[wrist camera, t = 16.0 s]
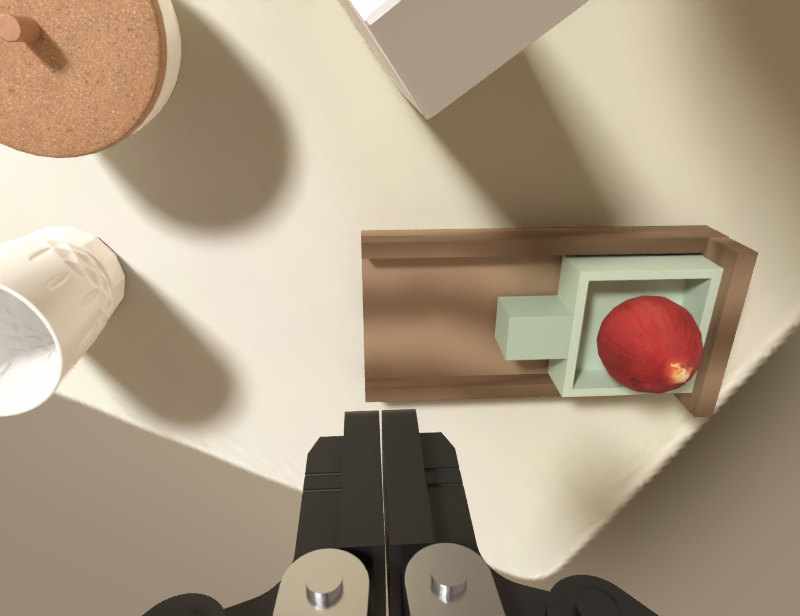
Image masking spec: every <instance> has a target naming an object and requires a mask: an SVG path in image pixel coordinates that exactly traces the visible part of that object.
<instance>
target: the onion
mask: <svg viewBox="0 0 800 616" xmlns="http://www.w3.org/2000/svg"><path fill="white" fill-rule="evenodd" d="M596 340H597V349H598V355H599V357H600V359H601V361H602V363H603V365H604V367H605V368H606V370H607V372H608V373H609V375H610V376H611V377H613V378H614V379H615V380H616V381H618V382H619V383H621V384H623V385H624V386H626V387H628V388H629V389H632V390H634V391H636V392H645V393H655V394H661V393H665V392H668V391H671V390H675V389H678V388H680V387H681V386H682V385H684V384H685V383H686V382H688V381H689V380H690V379H691V378H692V377H693V375H694V374H695V373H696V371H697V370H698V369H699V366H700V363H701V360H702V356H703V352H704V350H703V342H702V335H701V332H700V329H699V327H698V325H697V324H696V322H695V320H694V318H693V316H692V315H691V314H690V312H689V311H688V310H687V309H686V308H684V307H682V306H680V305H679V304H677V303H675V302H673V301H671V300H669V299H668V298H666V297H663V296H649V295H642V296H638V297H635V298H631V299H628V300H626V301H624V302H622V303H621V304H619V305H617V306H616V307H614V308H613V309H612V310H611V311H610V312H609V313H608V315H607V316H606V317H605V318H604V319H603V321H602V323H601V326H600V329H599V332H598V335H597V339H596Z"/></svg>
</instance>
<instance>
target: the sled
mask: <svg viewBox="0 0 800 616" xmlns="http://www.w3.org/2000/svg"><path fill="white" fill-rule="evenodd" d="M722 273H723V268H722V267H720V266H718V265H717V264H715V263H713V262H712V261H710V260H708V259H707V258H705V257H703V256H702V255H700V254H698V253H659V254H604V255H563V256H562V264H561V271H560V279H559V287H558V295H551V296H507V297H498V303H497V315H496V327H495V339H496V341H497V343H498V345H499V347H500V350H501V352H502V354H503V356H504V358H505V360H537V359H549V364H548V374H549V375H550V377H551V379H552V381H553V382H554V384H555V386H556V387H557V389H558V391H559V393H560V394H561V396H562V397H581V396H611V395H641V394H655V393H645V392H636V391H634V390H632V389H629V388H628V387H626V386H624V385H623V384H621V383H619V382H618V381H616V380H615V379H614V378H613V377H611V376H610V375H609V373H608V372H607V370H606V368H605V367H604V365H603V363H602V361H601V359H600V357H599V355H598V349H597V340H596V339H597V335H598V332H599V329H600V326H601V323H602V321H603V319H604V318H605V317H606V316H607V315H608V313H609V312H610V311H611V310H612V309H613V308H614V307H616V306H617V305H619V304H621V303H622V302H624V301H626V300H628V299H631V298H635V297H638V296H642V295H649V296H663V297H666V298H668V299H669V300H671V301H673V302H675V303H677V304H679V305H680V306H682V307H684V308H686V309H687V310H688V311H689V312H690V314H691V315H692V316H693V318H694V320H695V322H696V324H697V325H698V327H699V329H700V332H701V335H702V342H703V347H704V343H705V340H706V336H707V332H708V328H709V324H710V320H711V316H712V312H713V308H714V304H715V301H716V297H717V293H718V289H719V285H720V281H721V277H722ZM697 371H698V370H697ZM697 371H696V373H695V374H694V375H693V377H692V378H691V379H690V380H689V381H688V382H686V383H685V384H684V385H682V386H681V387H680V388H678V389H675V390H671V391H668V392H665V393H661V394H672V393H692V390H693V386H694V382H695V379H696V375H697Z"/></svg>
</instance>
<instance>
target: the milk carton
mask: <svg viewBox="0 0 800 616" xmlns="http://www.w3.org/2000/svg"><path fill="white" fill-rule="evenodd" d="M339 1H340V3H341V4H342V6H343V7H344V9H345V10H346V12H347V13H348V15H349V16H350V18H351V19H352V21H353V22H354V24H355V25H356V27H357V28H358V30H359V31H360V33H361V34H362V36H363V37H364V39H365V40H366V42H367V43H368V45H369V46H370V48H371V49H372V51H373V52H374V54H375V55H376V57H377V58H378V60H379V61H380V63H381V64H382V66H383V67H384V69H385V70H386V72H387V73H388V75H389V76H390V78H391V79H392V81H393V82H394V84H395V85H396V87H397V88H398V90H399V91H400V92H401V93H402V94H403V95H404V96H405V97H406V98H407V99H408V100H409V101H410V102H411V103H412V105H413V106H414V107H415V108H416V109H417V110H418V111H419V112H420V113H421V114H422V115H423V116H424V117H425V119H426V120H428V119H430V118H432V117H433V116H435V115H436V114H437V113H439V112H440V111H442V110H443V109H444V108H446V107H447V106H448V105H450V104H451V103H452V102H454V101H455V100H456V99H458V98H459V97H460V96H462V95H463V94H464V93H466V92H467V91H468V90H470V89H471V88H473V87H474V86H475V85H477V84H478V83H479V82H481V81H482V80H483V79H485V78H486V77H487V76H489V75H490V74H491V73H493V72H494V71H495V70H497V69H498V68H499V67H501V66H502V65H503V64H505V63H506V62H507V61H509V60H510V59H511V58H513V57H514V56H515V55H517V54H518V53H519V52H521V51H522V50H523V49H525V48H526V47H527V46H529V45H530V44H531V43H533V42H534V41H535V40H537V39H538V38H539V37H541V36H542V35H543V34H545V33H546V32H547V31H549V30H550V29H551V28H553V27H554V26H555V25H557V24H558V23H559V22H561V21H562V20H564V19H565V18H566V17H568V16H569V15H570V14H572V13H573V12H574V11H576V10H577V9H578V8H580V7H581V6H582V5H584V4H585V3H586V2H588V1H589V0H339Z"/></svg>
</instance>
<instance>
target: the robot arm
mask: <svg viewBox="0 0 800 616" xmlns="http://www.w3.org/2000/svg"><path fill="white" fill-rule="evenodd" d="M382 471H383V491H382ZM383 501H384V513H383ZM384 522H385V534H384ZM385 543H386V564H387V584H388V607H389V616H658V615H657V614H655V613H654V612H653V611H651V610H650V609H648V608H647V607H646V606H644V605H643V604H641V603H640V602H639V601H637V600H636V599H634V598H633V597H631V596H630V595H629V594H627V593H626V592H624V591H623V590H622V589H620V588H619V587H617V586H615V585H614V584H612V583H610V582H608V581H606V580H604V579H601V578H598V577H594V576H589V575H574V576H570V577H566V578H564V579H562V580H560V581H559V582H557V583H556V584H555V585H554V587H553V588H552V589H551V591H550V592H549V591H545V590H541V589H537V588H533V587H529V586H525V585H521V584H518V583H515V582H512V581H510V580H508V579H506V578H504V577H502V576H501V575H499V574H498V573H496V572H495V571H494V570H493V569H491V567H490V566H489V565H488V564H487V563H486V562H485V561H484V559H483V558H482V556H481V554H480V552H479V550H478V547H477V543H476V539H475V535H474V530H473V526H472V521H471V517H470V513H469V508H468V504H467V499H466V495H465V491H464V486H463V482H462V478H461V473H460V471H459V464H458V460H457V456H456V451H455V448H454V447H453V445H452V444H451V443H450V442H449V441H448V440H447V438H446V437H445V436H444V435H443V434H442V433H441V432H435V433H419V429H418V422H417V415H416V410H415V409H405V410H382V469H381V447H380V425H379V411H352V412H345V420H344V436H331V437H320V438H319V439H318V441H317V442H316V443H315V445H314V446H313V447H312V449H311V450H310V452H309V453H308V456H307V464H306V472H305V479H304V487H303V495H302V502H301V510H300V518H299V526H298V533H297V540H296V548H295V555H294V560H293V563H292V564H291V565H290V567H289V568H288V569H287V570H286V572H285V574H284V575H283V577H282V580H281V581H280V582H279V583H278V584H277V585H276V586H275V587H273V588H272V589H270V591H268V592H266V593H264V594H262V595H261V596H259V597H256V598H254V599H251V600H248V601H246V602H243V603H240V604H237V605H234V606H231V607H228V608H226V609H223V607H222V606H221V605H220V604H219V603H218V602H217V601H216V600H215V599H213V598H211V597H209V596H206V595H203V594H197V593H193V594H192V593H190V594H189V593H188V594H182V595H178V596H174V597H171V598H169V599H167V600H164V601H162V602H161V603H159V604H157V605H155V606H154V607H153V608H151V609H150V610H149V611H147V612H146V613H145V614H144V615H143V616H386V584H385Z"/></svg>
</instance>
